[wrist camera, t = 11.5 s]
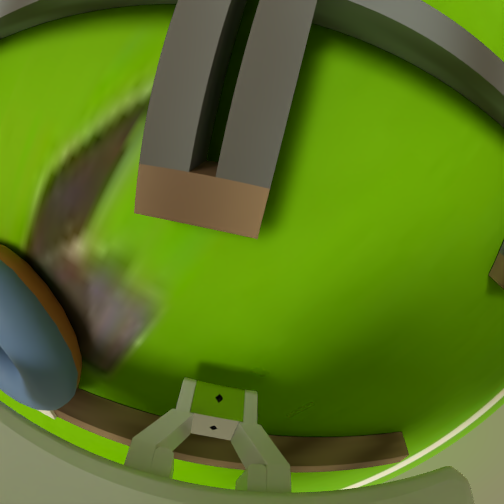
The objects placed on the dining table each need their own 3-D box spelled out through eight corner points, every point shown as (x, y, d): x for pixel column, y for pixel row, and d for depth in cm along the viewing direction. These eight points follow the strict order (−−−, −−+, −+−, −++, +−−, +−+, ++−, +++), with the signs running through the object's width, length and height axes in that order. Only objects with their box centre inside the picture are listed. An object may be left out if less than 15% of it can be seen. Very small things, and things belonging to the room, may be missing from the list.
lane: (555, 157, 6) (591, 171, 4) (392, 439, 15) (401, 468, 13) (-37, 41, 4) (-69, 42, 1) (-10, 347, 13) (-27, 369, 11)
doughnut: (122, 331, 11) (66, 410, 6) (74, 393, 14) (43, 439, 10) (-7, 186, 9) (-75, 217, 5) (-17, 295, 12) (-55, 327, 8)
